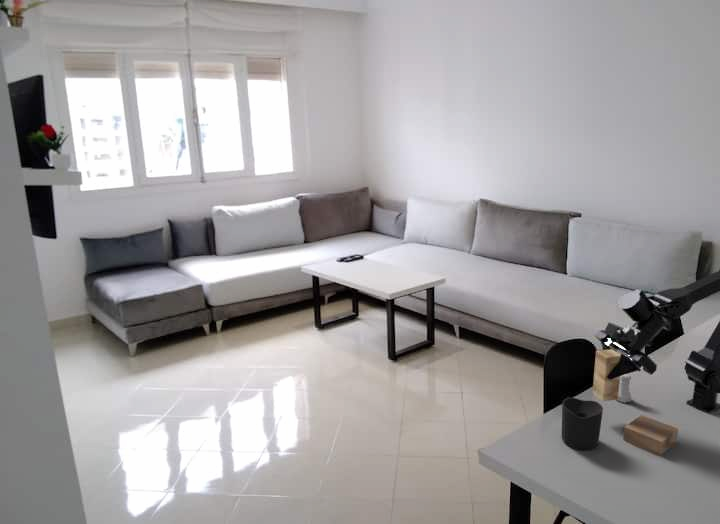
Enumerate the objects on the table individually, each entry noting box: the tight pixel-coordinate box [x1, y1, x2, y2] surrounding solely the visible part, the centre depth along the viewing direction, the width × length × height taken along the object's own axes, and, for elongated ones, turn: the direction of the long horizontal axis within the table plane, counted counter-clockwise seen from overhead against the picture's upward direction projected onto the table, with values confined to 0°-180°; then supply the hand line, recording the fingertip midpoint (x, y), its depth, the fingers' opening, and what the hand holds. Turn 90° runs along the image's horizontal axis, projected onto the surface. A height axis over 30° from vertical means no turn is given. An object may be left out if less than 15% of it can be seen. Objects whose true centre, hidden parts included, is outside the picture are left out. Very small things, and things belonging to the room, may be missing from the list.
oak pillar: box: [592, 349, 621, 402], centre depth 145 cm, size 4×4×12 cm
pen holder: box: [561, 396, 604, 451], centre depth 137 cm, size 9×9×10 cm
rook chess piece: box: [616, 373, 632, 404], centre depth 157 cm, size 4×4×8 cm
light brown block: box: [622, 414, 679, 456], centre depth 137 cm, size 9×9×4 cm
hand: (602, 374), depth 144 cm, fingers closed on oak pillar, 4 cm apart
